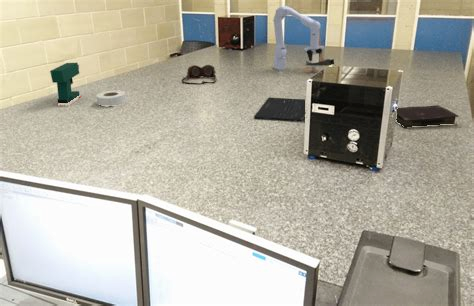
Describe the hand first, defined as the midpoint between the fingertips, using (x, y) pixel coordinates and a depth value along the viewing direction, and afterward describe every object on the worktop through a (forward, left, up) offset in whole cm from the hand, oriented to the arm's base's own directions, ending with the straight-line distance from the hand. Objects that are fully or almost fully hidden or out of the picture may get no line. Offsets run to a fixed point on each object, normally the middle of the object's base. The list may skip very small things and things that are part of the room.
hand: (313, 60), depth 277 cm
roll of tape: (+5, -138, -9) cm, 138 cm away
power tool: (-18, -158, -9) cm, 159 cm away
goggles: (-21, -77, -9) cm, 81 cm away
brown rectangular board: (-5, 0, -9) cm, 10 cm away
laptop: (+67, -53, -10) cm, 86 cm away
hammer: (-17, +17, -9) cm, 26 cm away
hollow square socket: (0, 0, -1) cm, 1 cm away
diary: (+106, -10, -10) cm, 107 cm away
